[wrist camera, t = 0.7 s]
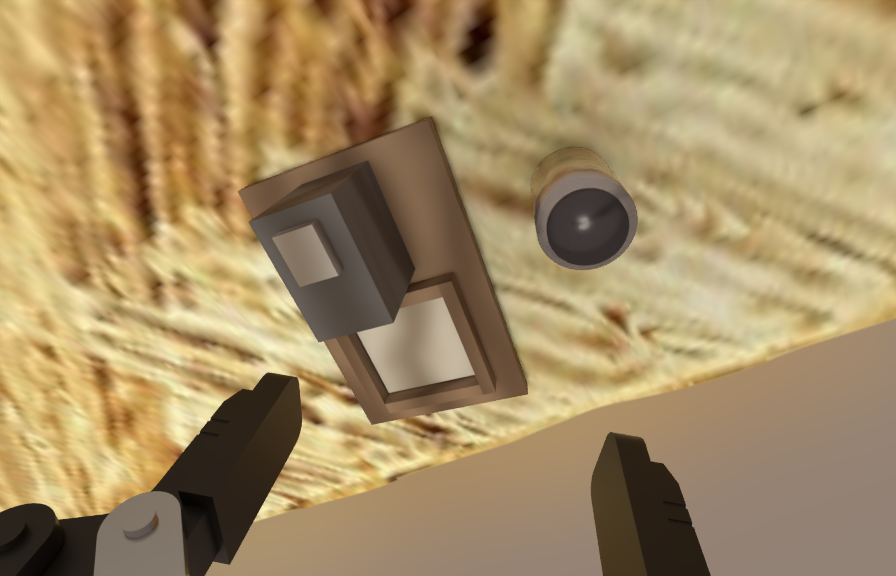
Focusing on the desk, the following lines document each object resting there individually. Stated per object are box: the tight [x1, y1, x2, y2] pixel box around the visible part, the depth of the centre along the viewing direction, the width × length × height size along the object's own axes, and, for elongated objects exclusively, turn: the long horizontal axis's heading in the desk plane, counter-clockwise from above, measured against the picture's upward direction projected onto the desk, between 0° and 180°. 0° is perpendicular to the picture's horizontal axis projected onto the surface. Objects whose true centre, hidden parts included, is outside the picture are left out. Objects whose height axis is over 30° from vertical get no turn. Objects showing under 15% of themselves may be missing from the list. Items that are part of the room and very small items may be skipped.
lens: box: [531, 147, 638, 270], centre depth 26 cm, size 5×5×8 cm
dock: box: [238, 117, 528, 425], centre depth 31 cm, size 14×22×9 cm, turn 20°
